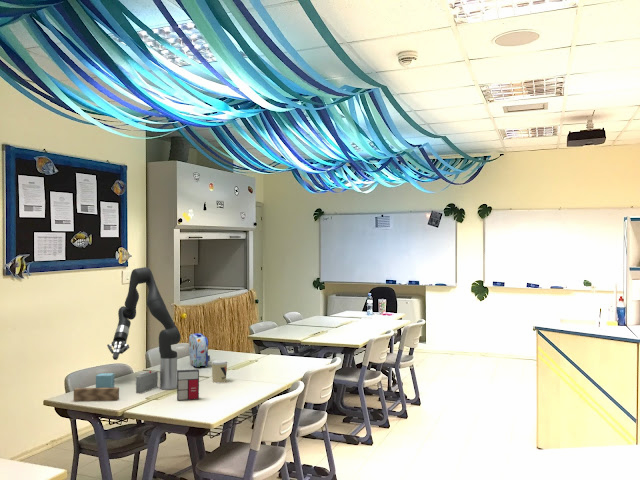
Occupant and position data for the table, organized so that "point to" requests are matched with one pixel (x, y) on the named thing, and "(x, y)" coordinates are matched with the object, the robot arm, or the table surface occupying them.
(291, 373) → the table surface
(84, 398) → the wall
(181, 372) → the gray and red box
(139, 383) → the cassette player
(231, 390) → the table surface
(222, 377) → the coffee cup
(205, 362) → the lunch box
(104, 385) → the sliding block
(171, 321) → the robot arm
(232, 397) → the table surface
